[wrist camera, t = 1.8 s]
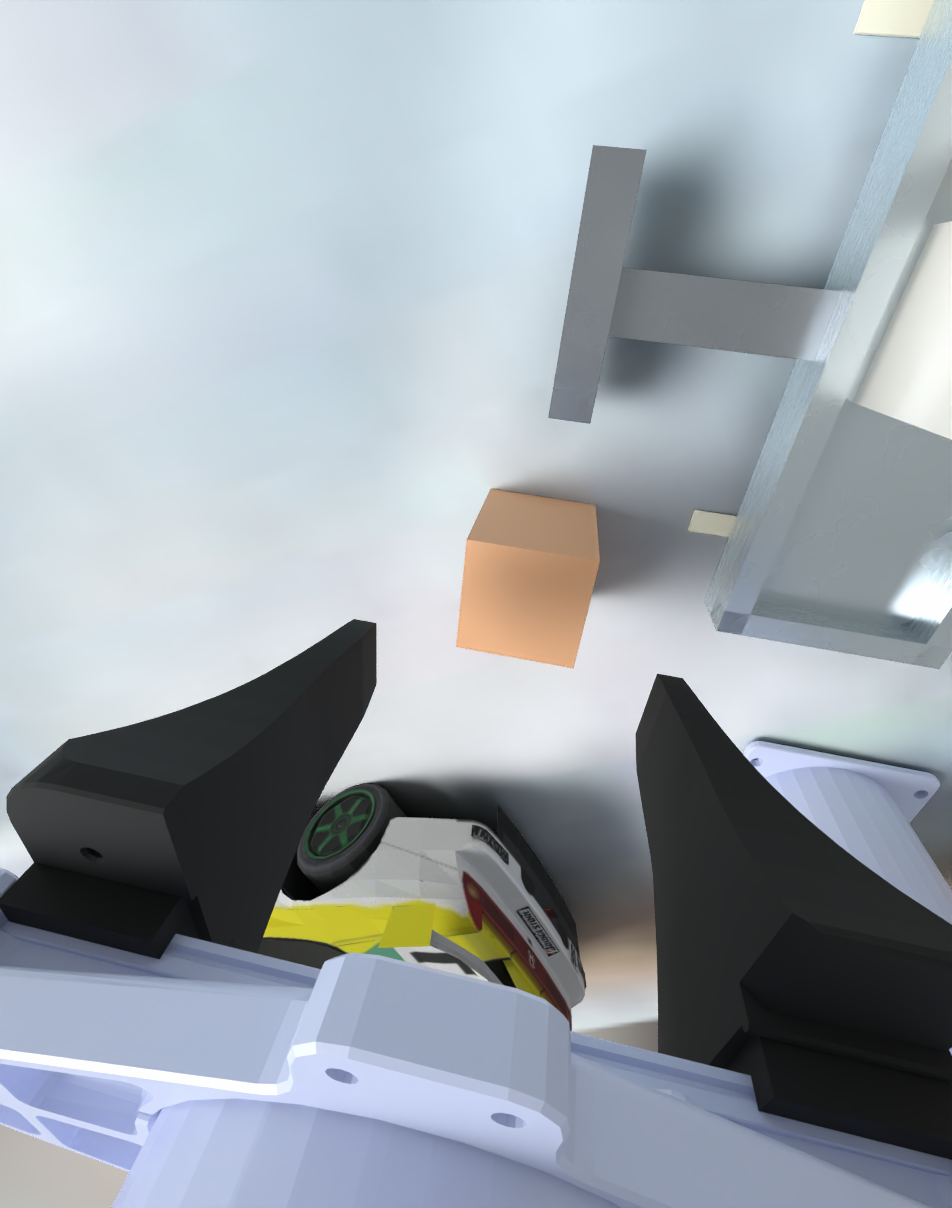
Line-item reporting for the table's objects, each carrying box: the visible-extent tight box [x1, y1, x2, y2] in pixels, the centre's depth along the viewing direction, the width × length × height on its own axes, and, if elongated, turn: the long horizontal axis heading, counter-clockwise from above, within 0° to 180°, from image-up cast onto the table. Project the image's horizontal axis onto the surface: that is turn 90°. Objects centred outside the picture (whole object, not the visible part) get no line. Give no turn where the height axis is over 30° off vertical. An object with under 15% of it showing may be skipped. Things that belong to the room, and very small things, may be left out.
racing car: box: [257, 784, 586, 1031], centre depth 32 cm, size 17×39×12 cm, turn 117°
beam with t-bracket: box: [548, 0, 952, 669], centre depth 14 cm, size 18×14×3 cm
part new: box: [456, 489, 600, 668], centre depth 19 cm, size 4×4×5 cm
